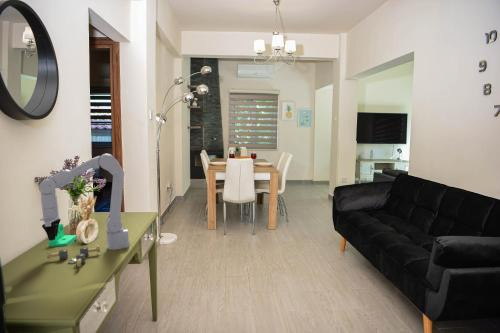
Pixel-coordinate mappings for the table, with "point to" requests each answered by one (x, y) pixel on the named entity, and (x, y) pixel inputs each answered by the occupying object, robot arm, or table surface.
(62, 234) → the camera mount
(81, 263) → the knob
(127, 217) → the table surface
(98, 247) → the knob
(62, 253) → the knob
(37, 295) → the table surface
